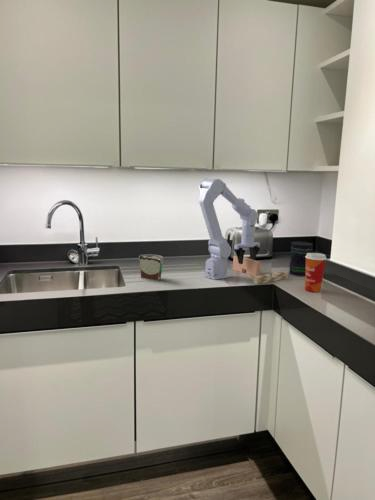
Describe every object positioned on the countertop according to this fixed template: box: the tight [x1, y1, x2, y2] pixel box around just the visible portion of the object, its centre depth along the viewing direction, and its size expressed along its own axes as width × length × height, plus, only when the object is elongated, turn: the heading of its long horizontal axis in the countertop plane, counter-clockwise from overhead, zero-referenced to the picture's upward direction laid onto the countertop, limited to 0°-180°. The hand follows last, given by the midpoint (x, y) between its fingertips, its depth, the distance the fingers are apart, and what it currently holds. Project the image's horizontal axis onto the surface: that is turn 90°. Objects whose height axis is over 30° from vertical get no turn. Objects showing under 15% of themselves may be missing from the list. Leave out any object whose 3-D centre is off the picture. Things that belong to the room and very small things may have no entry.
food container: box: [138, 253, 165, 282], centre depth 164 cm, size 12×6×10 cm, turn 59°
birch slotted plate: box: [252, 270, 289, 285], centre depth 166 cm, size 20×2×3 cm, turn 125°
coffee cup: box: [304, 252, 327, 294], centre depth 152 cm, size 8×8×15 cm
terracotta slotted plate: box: [232, 255, 261, 277], centre depth 178 cm, size 16×2×7 cm, turn 35°
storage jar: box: [288, 240, 314, 277], centre depth 179 cm, size 10×10×15 cm
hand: (246, 262), depth 178 cm, fingers open, 7 cm apart
